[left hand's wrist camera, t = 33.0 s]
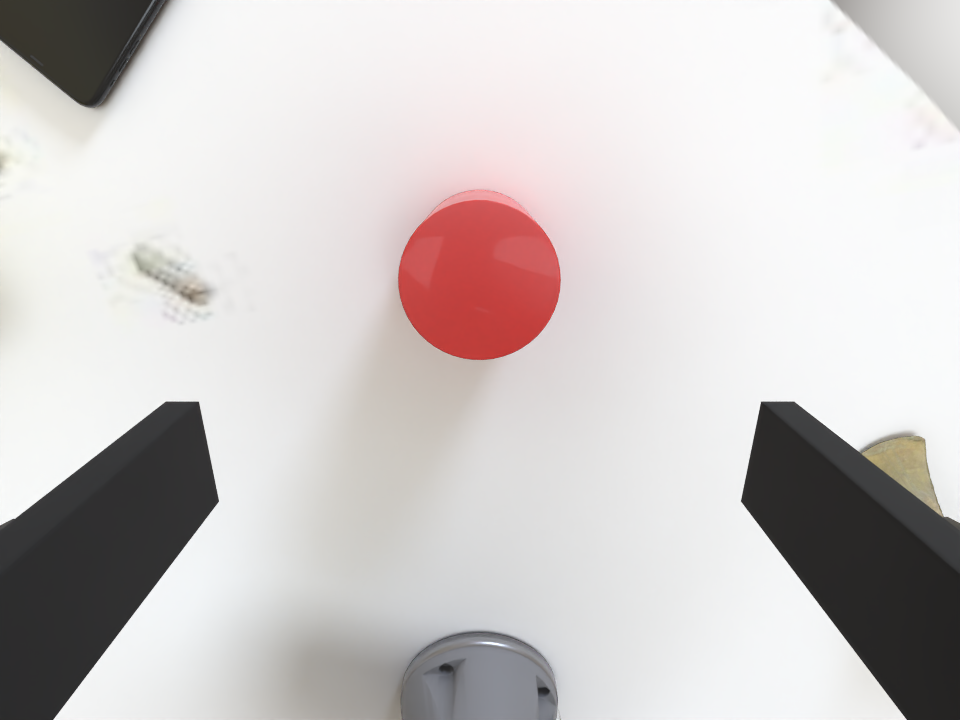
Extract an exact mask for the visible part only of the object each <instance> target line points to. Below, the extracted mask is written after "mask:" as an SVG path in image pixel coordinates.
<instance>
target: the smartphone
mask: <svg viewBox="0 0 960 720" xmlns="http://www.w3.org/2000/svg"><path fill="white" fill-rule="evenodd" d="M164 2H165V0H0V40H1V41H2V42H3V43H4V44H6V45H7V46H8V47H9V48H10V49H12V50H13V51H14V52H15V53H17V54H18V55H19V56H20V57H21V58H23V59H24V60H25V61H26V62H28V63H29V64H30V65H31V66H32V67H34V68H35V69H36V70H37V71H39V72H40V73H41V74H42V75H43V76H45V77H46V78H47V79H48V80H50V81H51V82H52V83H53V84H55V85H56V86H57V87H58V88H59V89H61V90H62V91H63V92H64V93H66V94H67V95H68V96H69V97H71V98H72V99H73V100H74V101H76V102H77V103H78V104H80V105H82V106H85V107H89V108H94V107H97V106H99V105H100V104H101V103H102V102H103V101H104V99H105V98H106V96H107V95H108V93H109V91H110V90H111V88H112V87H113V85H114V83H115V82H116V80H117V78H118V77H119V75H120V74H121V72H122V71H123V69H124V67H125V66H126V64H127V63H128V61H129V59H130V57H131V56H132V54H133V53H134V51H135V50H136V48H137V46H138V45H139V43H140V41H141V39H142V38H143V36H144V34H145V33H146V31H147V30H148V28H149V26H150V25H151V23H152V21H153V20H154V18H155V17H156V15H157V13H158V12H159V10H160V8H161V7H162V5H163V4H164Z"/></svg>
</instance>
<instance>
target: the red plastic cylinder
mask: <svg viewBox="0 0 960 720" xmlns="http://www.w3.org/2000/svg"><path fill="white" fill-rule="evenodd" d="M560 281H561V279H560V267H559V262H558V258H557V255H556V252H555V249H554V247H553V245H552V243H551V241H550V239H549V238H548V236H547V235H546V234H545V232H544V231H543V229H542V228H541V227H540V226H539V225H538V224H537V223H536V221H535V220H534V219H533V218H532V217H531V216H530V215H529V213H528V212H527V211H526V210H525V209H524V208H523V207H522V206H521V205H520V204H518V203H517V202H516V201H514V200H513V199H511V198H510V197H507V196H505V195H503V194H500V193H497V192H494V191H488V190H472V191H466V192H462V193H459V194H456V195H454V196H451V197H450V198H448V199H446V200H445V201H443V202H442V203H441V204H439V205H438V206H437V207H436V208H435V209H434V210H433V211H432V212H431V213H430V215H429V216H428V217H427V218H426V219H425V220H424V221H423V222H422V224H421V225H420V226H419V227H418V228H417V229H416V231H415V232H414V233H413V235H412V236H411V238H410V239H409V241H408V243H407V245H406V247H405V249H404V252H403V255H402V258H401V262H400V266H399V275H398V283H399V293H400V298H401V302H402V305H403V308H404V310H405V312H406V315H407V317H408V319H409V320H410V322H411V323H412V325H413V326H414V328H415V329H416V330H417V331H418V333H419V334H420V335H421V336H422V337H423V338H424V339H426V340H427V341H428V342H429V343H430V344H432V345H433V346H435V347H436V348H438V349H440V350H442V351H443V352H446V353H448V354H451V355H453V356H457V357H460V358H465V359H472V360H486V359H494V358H499V357H503V356H506V355H508V354H511V353H513V352H515V351H517V350H519V349H521V348H523V347H524V346H526V345H527V344H529V343H530V342H531V341H532V340H533V339H534V338H536V337H537V336H538V335H539V333H540V332H541V331H542V330H543V329H544V328H545V326H546V325H547V323H548V322H549V320H550V318H551V316H552V314H553V312H554V310H555V307H556V304H557V302H558V297H559V292H560Z"/></svg>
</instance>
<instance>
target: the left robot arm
mask: <svg viewBox="0 0 960 720" xmlns="http://www.w3.org/2000/svg"><path fill="white" fill-rule="evenodd" d="M218 502H219V499H218V494H217V489H216V484H215V479H214V474H213V470H212V465H211V460H210V455H209V450H208V445H207V440H206V435H205V430H204V425H203V420H202V415H201V410H200V405H199V402H165V403H164V404H162V405H161V406H160V407H158V408H157V409H156V410H155V411H153V412H152V413H151V414H149V415H148V416H147V417H146V418H144V419H143V420H142V421H140V422H139V423H138V424H137V425H135V426H134V427H133V428H131V429H130V430H129V431H128V432H126V433H125V434H124V435H122V436H121V437H120V438H119V439H117V440H116V441H115V442H113V443H112V444H111V445H110V446H108V447H107V448H106V449H104V450H103V451H102V452H101V453H99V454H98V455H97V456H95V457H94V458H93V459H92V460H90V461H89V462H88V463H86V464H85V465H84V466H83V467H81V468H80V469H79V470H77V471H76V472H75V473H74V474H72V475H71V476H70V477H68V478H67V479H66V480H65V481H63V482H62V483H61V484H59V485H58V486H57V487H56V488H54V489H53V490H52V491H50V492H49V493H48V494H47V495H45V496H44V497H43V498H41V499H40V500H39V501H38V502H36V503H35V504H34V505H32V506H31V507H30V508H29V509H27V510H26V511H25V512H23V513H22V514H21V515H20V516H18V517H17V518H16V519H12V520H10V521H8V522H6V523H4V524H2V525H0V720H53V719H54V718H55V717H56V715H57V714H58V713H59V711H60V710H61V709H62V707H63V706H64V705H65V703H66V702H67V701H68V699H69V698H70V697H71V696H72V694H73V693H74V692H75V690H76V689H77V688H78V686H79V685H80V684H81V682H82V681H83V680H84V678H85V677H86V676H87V674H88V673H89V672H90V670H91V669H92V668H93V667H94V665H95V664H96V663H97V661H98V660H99V659H100V657H101V656H102V655H103V653H104V652H105V651H106V649H107V648H108V647H109V645H110V644H111V643H112V642H113V640H114V639H115V638H116V636H117V635H118V634H119V632H120V631H121V630H122V628H123V627H124V626H125V624H126V623H127V622H128V620H129V619H130V618H131V617H132V615H133V614H134V613H135V611H136V610H137V609H138V607H139V606H140V605H141V603H142V602H143V601H144V599H145V598H146V597H147V595H148V594H149V593H150V591H151V590H152V589H153V588H154V586H155V585H156V584H157V582H158V581H159V580H160V578H161V577H162V576H163V574H164V573H165V572H166V570H167V569H168V568H169V566H170V565H171V564H172V563H173V561H174V560H175V559H176V557H177V556H178V555H179V553H180V552H181V551H182V549H183V548H184V547H185V545H186V544H187V543H188V541H189V540H190V539H191V538H192V536H193V535H194V534H195V532H196V531H197V530H198V528H199V527H200V526H201V524H202V523H203V522H204V520H205V519H206V518H207V516H208V515H209V514H210V512H211V511H212V510H213V509H214V507H215V506H216V505H217V503H218ZM741 502H742V503H743V505H744V506H745V507H746V509H747V510H748V511H749V512H750V514H751V515H752V516H753V518H754V519H755V520H756V522H757V523H758V524H759V526H760V527H761V528H762V530H763V531H764V532H765V534H766V535H767V536H768V538H769V539H770V540H771V541H772V543H773V544H774V545H775V547H776V548H777V549H778V551H779V552H780V553H781V555H782V556H783V557H784V559H785V560H786V561H787V563H788V564H789V565H790V566H791V568H792V569H793V570H794V572H795V573H796V574H797V576H798V577H799V578H800V580H801V581H802V582H803V584H804V585H805V586H806V588H807V589H808V590H809V591H810V593H811V594H812V595H813V597H814V598H815V599H816V601H817V602H818V603H819V605H820V606H821V607H822V609H823V610H824V611H825V613H826V614H827V615H828V617H829V618H830V619H831V620H832V622H833V623H834V624H835V626H836V627H837V628H838V630H839V631H840V632H841V634H842V635H843V636H844V638H845V639H846V640H847V642H848V643H849V644H850V645H851V647H852V648H853V649H854V651H855V652H856V653H857V655H858V656H859V657H860V659H861V660H862V661H863V663H864V664H865V665H866V667H867V668H868V669H869V670H870V672H871V673H872V674H873V676H874V677H875V678H876V680H877V681H878V682H879V684H880V685H881V686H882V688H883V689H884V690H885V692H886V693H887V694H888V696H889V697H890V698H891V699H892V701H893V702H894V703H895V705H896V706H897V707H898V709H899V710H900V711H901V713H902V714H903V715H904V717H905V718H906V719H907V720H960V523H958V522H956V521H954V520H952V519H951V518H949V517H942V516H940V515H939V514H938V513H937V512H935V511H934V510H933V509H931V508H930V507H929V506H928V505H926V504H925V503H924V502H922V501H921V500H920V499H919V498H917V497H916V496H915V495H913V494H912V493H911V492H910V491H908V490H907V489H906V488H904V487H903V486H902V485H901V484H899V483H898V482H897V481H895V480H894V479H893V478H892V477H890V476H889V475H888V474H886V473H885V472H884V471H883V470H881V469H880V468H879V467H877V466H876V465H875V464H874V463H872V462H871V461H870V460H868V459H867V458H866V457H865V456H863V455H862V454H861V453H859V452H858V451H857V450H856V449H854V448H853V447H852V446H850V445H849V444H848V443H847V442H845V441H844V440H843V439H841V438H840V437H839V436H838V435H836V434H835V433H834V432H832V431H831V430H830V429H829V428H827V427H826V426H825V425H823V424H822V423H821V422H820V421H818V420H817V419H816V418H814V417H813V416H812V415H811V414H809V413H808V412H807V411H805V410H804V409H803V408H802V407H800V406H799V405H798V404H796V403H795V402H761V405H760V410H759V415H758V420H757V425H756V430H755V435H754V440H753V445H752V450H751V455H750V460H749V465H748V469H747V474H746V479H745V484H744V489H743V494H742V499H741ZM557 706H558V698H557V690H556V683H555V678H554V675H553V672H552V670H551V668H550V666H549V664H548V663H547V662H546V660H545V659H544V658H543V657H542V656H541V655H540V654H539V653H538V652H537V651H535V650H534V649H533V648H531V647H530V646H528V645H526V644H525V643H522V642H520V641H518V640H516V639H513V638H510V637H507V636H503V635H498V634H491V633H468V634H461V635H456V636H452V637H448V638H446V639H443V640H440V641H438V642H436V643H434V644H432V645H430V646H429V647H427V648H426V649H424V650H423V651H422V652H421V653H420V654H418V655H417V656H416V658H415V659H414V660H413V661H412V662H411V664H410V665H409V667H408V669H407V671H406V673H405V676H404V681H403V687H402V694H401V713H402V719H403V720H556V717H557ZM559 716H560V713H559ZM560 720H561V718H560Z"/></svg>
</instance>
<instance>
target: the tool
mask: <svg viewBox="0 0 960 720" xmlns="http://www.w3.org/2000/svg"><path fill="white" fill-rule="evenodd" d="M925 446H926V444H925V439H924V438H922V437H919V436H910V437H902V438H896V439H891V440H888V441H884V442H882V443H879V444H877V445H875V446H873V447H871V448H870V449H868V450H866V451H864V452H863V453H862V455H863V456H865V457H866V458H867V459H868V460H870V461H871V462H872V463H874V464H875V465H876V466H877V467H879V468H880V469H881V470H883V471H884V472H885V473H886V474H888V475H889V476H890V477H892V478H893V479H894V480H895V481H897V482H898V483H899V484H901V485H902V486H903V487H904V488H906V489H907V490H908V491H910V492H911V493H912V494H913V495H915V496H916V497H917V498H919V499H920V500H921V501H922V502H924V503H925V504H926V505H928V506H929V507H930V508H931V509H933V510H934V511H935V512H937V513H938V514H939V515H940V516H942V517H944V516H943V514H942V511H941V509H940V506H939V504H938V501H937V497H936V495H935V492H934V487H933V485H932V482H931V479H930V474H929V470H928V465H927V459H926V447H925Z"/></svg>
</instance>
